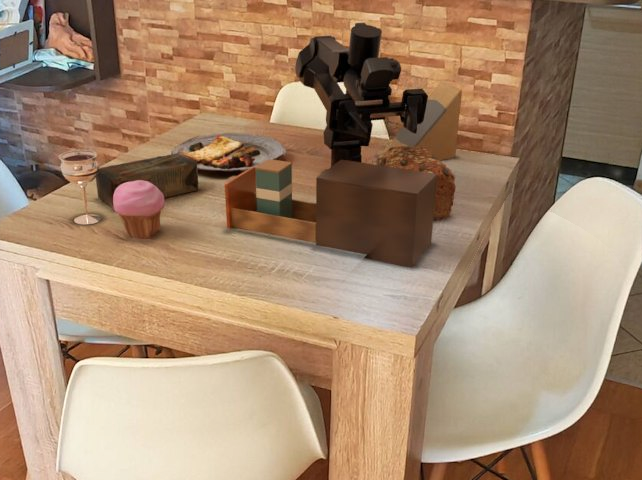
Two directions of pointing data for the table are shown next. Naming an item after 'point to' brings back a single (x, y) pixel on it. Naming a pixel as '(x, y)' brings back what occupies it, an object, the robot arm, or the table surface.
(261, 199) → the long rectangular block
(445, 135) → the sandwich container
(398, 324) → the table surface
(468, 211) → the table surface
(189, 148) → the food plate
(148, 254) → the table surface
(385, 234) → the brown cupboard
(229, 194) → the drawer
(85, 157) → the wineglass
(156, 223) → the cupcake
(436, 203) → the bread
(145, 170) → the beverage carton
